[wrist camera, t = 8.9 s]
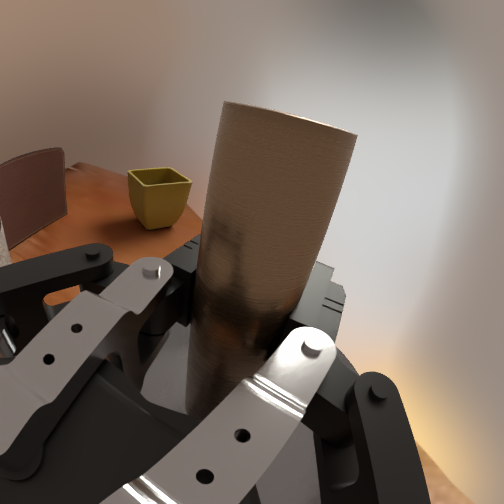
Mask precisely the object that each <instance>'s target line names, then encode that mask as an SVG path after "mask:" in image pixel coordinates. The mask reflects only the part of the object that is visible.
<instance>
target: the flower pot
mask: <svg viewBox="0 0 504 504" xmlns="http://www.w3.org/2000/svg"><path fill="white" fill-rule="evenodd" d="M191 185H192V181H191V180H189V179H188V178H186V177H185V176H183V175H182V174H180V173H179V172H177V171H175V170H174V169H172V168H150V169H138V170H130V171H128V187H129V198H130V202H131V206H132V208H133V211H134V213H135V215H136V217H137V218H138V220H139V221H140V222H141V223H142V225H143V226H144V227H145V228H146V229H147V230H152V229H157V228H163V227H169V226H172V225H174V223H175V222H176V221H177V220H178V219H179V217H180V216H181V214H182V213H183V211H184V209H185V206H186V203H187V199H188V196H189V192H190V188H191Z"/></svg>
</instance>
